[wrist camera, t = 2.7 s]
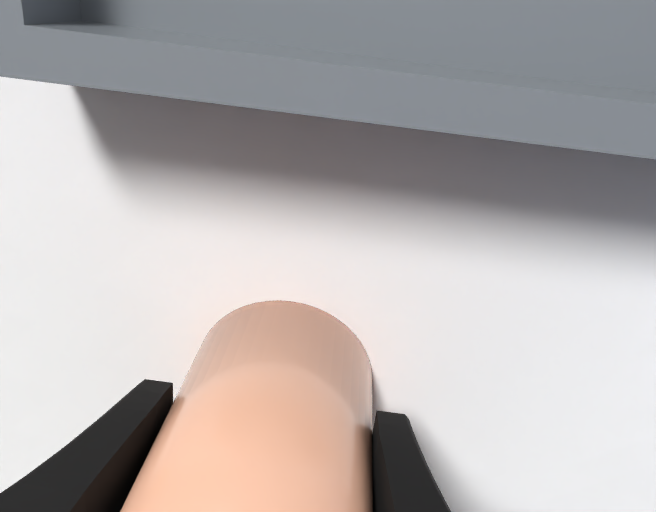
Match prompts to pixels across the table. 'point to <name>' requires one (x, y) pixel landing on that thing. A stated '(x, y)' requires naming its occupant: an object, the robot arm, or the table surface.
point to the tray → (366, 61)
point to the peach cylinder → (266, 420)
